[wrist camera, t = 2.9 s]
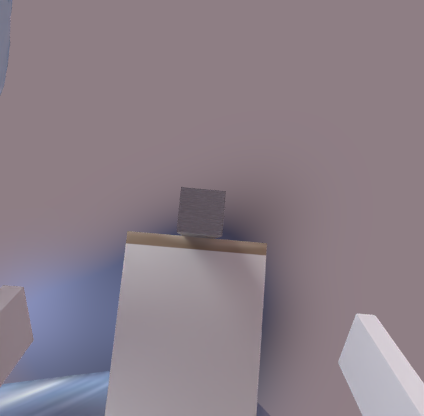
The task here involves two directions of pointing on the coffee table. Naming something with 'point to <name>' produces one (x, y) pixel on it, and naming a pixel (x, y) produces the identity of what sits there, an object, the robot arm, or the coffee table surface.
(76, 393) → the coffee table surface
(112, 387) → the pedestal
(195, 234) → the metal bar
